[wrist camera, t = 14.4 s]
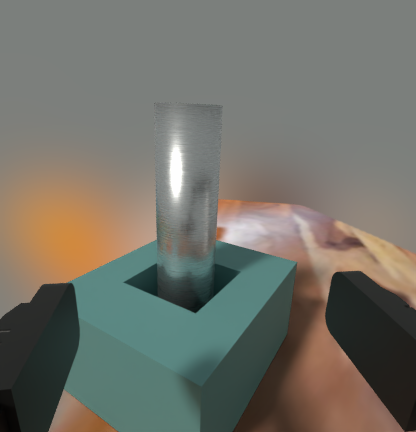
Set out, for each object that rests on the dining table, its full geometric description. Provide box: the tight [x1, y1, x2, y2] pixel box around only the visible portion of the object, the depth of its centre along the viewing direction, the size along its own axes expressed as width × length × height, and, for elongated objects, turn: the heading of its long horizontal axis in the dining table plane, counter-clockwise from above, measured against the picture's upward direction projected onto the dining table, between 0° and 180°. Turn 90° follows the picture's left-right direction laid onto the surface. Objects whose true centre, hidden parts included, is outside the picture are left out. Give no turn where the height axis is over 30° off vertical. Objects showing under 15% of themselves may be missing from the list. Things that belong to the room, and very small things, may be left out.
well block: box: [64, 240, 297, 432], centre depth 23 cm, size 14×12×7 cm
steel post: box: [154, 103, 223, 313], centre depth 21 cm, size 4×4×18 cm
